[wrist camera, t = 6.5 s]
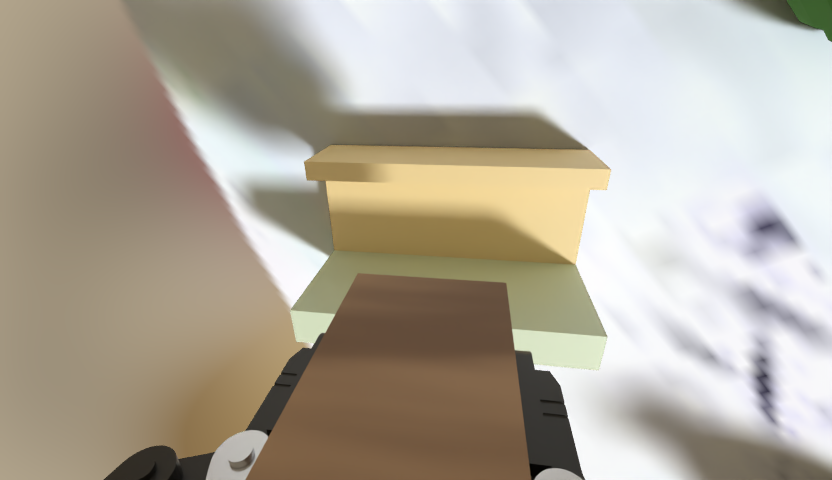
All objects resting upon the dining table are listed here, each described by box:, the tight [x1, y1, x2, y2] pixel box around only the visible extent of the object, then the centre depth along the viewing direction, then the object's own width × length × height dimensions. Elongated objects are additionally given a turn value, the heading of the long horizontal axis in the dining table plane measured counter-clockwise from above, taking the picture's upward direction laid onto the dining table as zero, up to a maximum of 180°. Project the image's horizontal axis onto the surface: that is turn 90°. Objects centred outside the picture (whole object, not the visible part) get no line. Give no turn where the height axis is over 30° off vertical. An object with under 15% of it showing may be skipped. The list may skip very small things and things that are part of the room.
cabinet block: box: [245, 273, 531, 480], centre depth 10 cm, size 4×5×9 cm
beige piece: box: [290, 145, 611, 370], centre depth 21 cm, size 8×15×8 cm, turn 91°
